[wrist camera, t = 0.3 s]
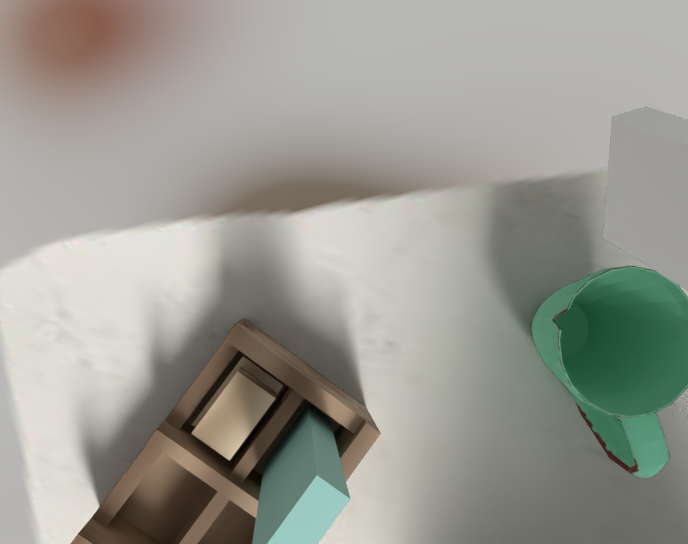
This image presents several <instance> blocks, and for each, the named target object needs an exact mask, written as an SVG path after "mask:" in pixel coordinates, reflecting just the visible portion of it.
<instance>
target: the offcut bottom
mask: <svg viewBox="0 0 688 544" xmlns="http://www.w3.org/2000/svg"><path fill="white" fill-rule="evenodd" d="M240 367H242V368H243V369H244V370H246V371H247V372H249V373H250V374H251V375H253V376H254V377H255V378H257V379H258V380H260V381H261V382H262V383H264V384H265V385H266V386H268V387H269V388H271V389H272V390H273V391H275V392H276V395H277V394H278V392H279V391H280V390H281V388H282V387H283V384H284V383H283V382H282V381H281V380H279V379H278V378H276V377H275V376H274V375H272V374H271V373H270V372H268V371H267V370H265V369H264V368H263V367H261V366H260V365H259V364H257V363H256V362H254V361H253V360H252V359H250V358H249V357H248V356H246V355H245V354H244V355H243V356H242V358H241V359H240V360H239V362H238V363H237V364H236V366H235V367H234V368H233V370H232V371H231V372H230V374H229V375H228V376H227V378H226V379H225V380H224V382H223V383H222V384H221V386H220V387H219V388H218V390H217V391H216V392H215V394H214V395H213V396H212V398H211V399H210V400H209V402H208V403H207V404H206V406H205V407H204V408H203V410H202V411H201V413H200V414H199V415H198V417H197V418H196V419H195V421H194V422H193V424H192V425H193V426H195V427H196V425H197V424H198V423H199V421H200V420H201V419H202V417H203V416H204V415H205V413H206V412H207V411H208V409H209V408H210V407H211V405H212V404H213V403H214V401H215V400H216V399H217V397H218V396H219V395H220V393H221V392H222V391H223V389H224V388H225V387H226V385H227V384H228V383H229V381H230V380H231V379H232V377H233V376H234V375H235V373H236V372H237V371H238V369H239V368H240Z"/></svg>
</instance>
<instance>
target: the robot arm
mask: <svg viewBox="0 0 688 544" xmlns="http://www.w3.org/2000/svg"><path fill="white" fill-rule="evenodd" d="M603 239H605V240H606V241H608V242H610V243H611V244H613V245H614V246H616V247H618V248H619V249H621V250H623V251H624V252H626V253H627V254H629V255H631V256H632V257H634V258H635V259H637V260H639V261H640V262H642V263H644V264H645V265H647V266H648V267H650V268H652V269H653V270H655V271H656V272H658V273H660V274H661V275H663V276H664V277H666V278H668V279H669V280H671V281H673V282H674V283H676V284H677V285H679V286H681V287H682V288H684V289H685V290H687V291H688V120H687V119H683V118H680V117H677V116H674V115H671V114H667V113H664V112H661V111H658V110H654V109H651V108H648V107H644V108H640V109H636V110H633V111H630V112H627V113H623V114H620V115H617V116H613V117H612V127H611V139H610V153H609V166H608V179H607V192H606V205H605V218H604V231H603Z"/></svg>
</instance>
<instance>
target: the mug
mask: <svg viewBox="0 0 688 544" xmlns="http://www.w3.org/2000/svg"><path fill="white" fill-rule="evenodd" d="M531 329H532V337H533V340H534V343H535V346H536V348H537V350H538V352H539V355H540V356H541V358H542V360H543V361H544V363H545V364H546V366H547V367H548V368H549V369H550V370H551V371H552V372H553V373H554V374H555V376H556V377H557V378H558V379H559V380H560V381H561V382H562V383H563V384H564V385H565V386H566V387H567V388H568V389H569V390H570V391H571V393H572V395H573V398H574V400H575V402H576V405H577V407H578V409H579V411H580V413H581V415H582V417H583V418H584V420H585V421H586V423H587V424H588V426H589V427H590V429H591V430H592V432H593V433H594V435H595V437H596V438H597V440H598V441H599V443H600V444H601V446H602V447H603V449H604V450H605V452H606V453H607V455H608V457H609V458H610V459H611V460H613V461H614V462H616V463H617V464H618V465H620V466H621V467H622V468H624V469H625V470H627V471H628V472H629V473H631V474H632V475H635V476H638V477H642V478H650V477H653V476H654V475H656V474H657V473H658V472H660V470H661V469H662V468H663V467H664V465H665V464H666V463H667V462H668V461H669V459H670V455H669V452H668V448H667V444H666V441H665V437H664V434H663V431H662V429H661V426H660V423H659V421H658V418H657V416H656V413H655V412H657V411H659V410H661V409H663V408H665V407H667V406H669V405H671V404H672V403H673V402H674V401H675V400H676V399H677V398H678V397H679V396H680V395H681V394H682V393H683V392H684V391H685V390H686V389H687V388H688V296H687V295H686V294H685V293H684V292H683V290H682V289H681V288H680V287H679V286H678V285H677V284H676V283H674V282H673V281H671V280H669V279H668V278H666V277H664V276H663V275H661V274H660V273H658V272H656V271H655V270H650V269H646V268H641V267H636V266H625V267H616V268H608V269H602V270H600V271H598V272H596V273H594V274H592V275H590V276H587V277H585V278H583V279H581V280H578V281H575V282H573V283H571V284H569V285H567V286H564V287H562V288H560V289H559V290H558V291H556V292H555V293H554V294H552V295H551V296H550V297H549V298H548V299H547V300H546V301H545V302H544V303H543V304H541V306H540V307H539V308H538V310H537V312H536V314H535V316H534V318H533V320H532V326H531ZM617 416H619V417H620V419H621V421H620V420H619V419H618V417H617ZM621 422H622V423H621Z"/></svg>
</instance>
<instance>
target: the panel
mask: <svg viewBox="0 0 688 544" xmlns="http://www.w3.org/2000/svg"><path fill="white" fill-rule="evenodd" d="M349 500H350V497H349V493H348V489H347V485H346V481H345V477H344V473H343V469H342V465H341V461H340V457H339V453H338V449H337V446H336V442H335V438H334V434H333V430H332V426H331V422H330V418H329V417H328V416H326V415H325V414H323V413H322V412H321V411H319V410H318V409H317V408H315V407H314V406H312V405H311V404H310V403H308V404H307V405H306V407H305V408H304V409H303V411H302V412H301V413H300V415H299V416H298V417H297V419H296V420H295V421H294V423H293V424H292V426H291V427H290V428H289V430H288V431H287V432H286V434H285V435H284V436H283V438H282V439H281V441H280V442H279V443H278V445H277V446H276V447H275V449H274V450H273V451H272V453H271V454H270V455H269V457H268V458H267V460H266V461H265V463H264V470H263V476H262V482H261V489H260V495H259V502H258V508H257V515H256V521H255V528H254V534H253V541H252V544H318V543H319V541H320V540H321V539H322V537H323V536H324V534H325V533H326V532H327V530H328V529H329V527H330V526H331V525H332V523H333V522H334V521H335V519H336V518H337V516H338V515H339V514H340V512H341V511H342V509H343V508H344V507H345V505H346V504H347V503H348V501H349Z"/></svg>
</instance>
